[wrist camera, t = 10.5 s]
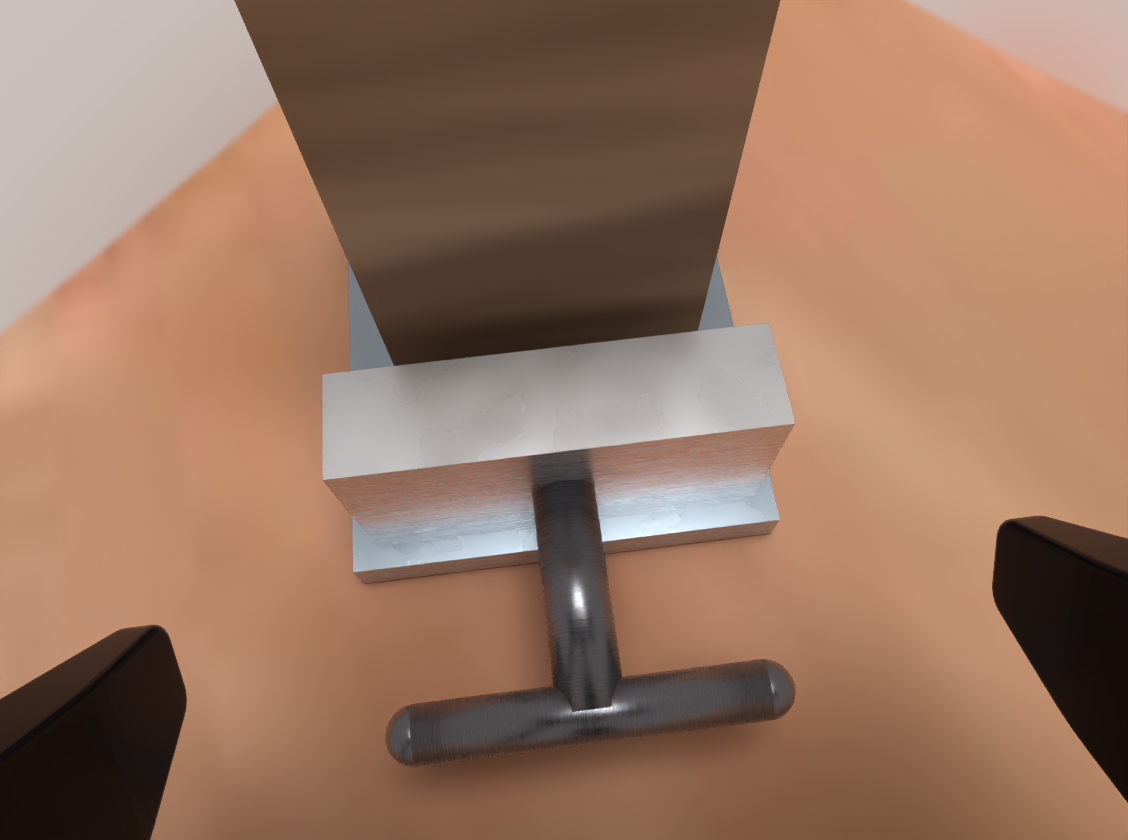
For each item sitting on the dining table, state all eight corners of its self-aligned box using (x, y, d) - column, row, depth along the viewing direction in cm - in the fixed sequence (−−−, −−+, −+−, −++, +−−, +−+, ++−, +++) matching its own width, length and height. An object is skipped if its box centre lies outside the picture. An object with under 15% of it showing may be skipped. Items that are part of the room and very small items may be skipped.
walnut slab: (683, 391, 19) (852, -294, 7) (418, 422, 19) (133, -229, 7) (657, 264, 20) (763, -484, 8) (412, 291, 20) (168, -434, 8)
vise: (813, 722, 17) (900, 695, 12) (368, 781, 17) (287, 775, 12) (688, 180, 23) (715, 24, 18) (356, 216, 22) (298, 68, 18)
